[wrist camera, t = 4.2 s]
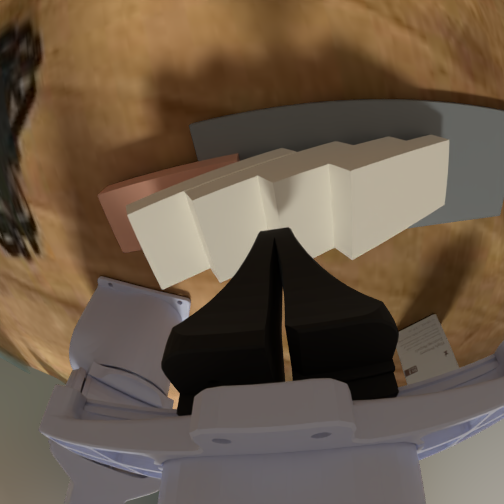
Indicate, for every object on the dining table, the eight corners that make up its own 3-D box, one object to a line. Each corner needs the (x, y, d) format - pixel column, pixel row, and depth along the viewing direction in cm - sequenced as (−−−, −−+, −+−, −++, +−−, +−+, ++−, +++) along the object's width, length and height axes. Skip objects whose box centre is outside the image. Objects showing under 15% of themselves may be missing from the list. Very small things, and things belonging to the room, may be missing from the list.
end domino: (252, 220, 20) (130, 241, 21) (238, 153, 17) (107, 186, 19) (252, 231, 19) (123, 253, 20) (236, 160, 16) (97, 195, 17)
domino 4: (428, 197, 18) (333, 246, 16) (431, 134, 16) (328, 163, 13) (444, 204, 17) (352, 259, 15) (449, 139, 14) (350, 170, 12)
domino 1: (292, 216, 20) (157, 276, 17) (282, 147, 17) (125, 205, 14) (306, 224, 19) (162, 289, 16) (296, 151, 16) (127, 214, 13)
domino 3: (388, 202, 19) (273, 257, 16) (388, 136, 16) (256, 175, 14) (405, 210, 18) (287, 270, 15) (407, 140, 15) (272, 182, 12)
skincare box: (435, 311, 27) (474, 400, 17) (438, 329, 29) (471, 410, 19) (389, 335, 29) (417, 428, 19) (397, 351, 31) (421, 435, 21)
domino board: (225, 247, 23) (224, 253, 22) (191, 123, 17) (188, 125, 16) (495, 211, 19) (499, 215, 19) (506, 110, 14) (512, 113, 13)
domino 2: (341, 209, 19) (210, 268, 17) (335, 141, 17) (184, 191, 14) (356, 216, 18) (220, 282, 16) (353, 145, 15) (192, 200, 13)
